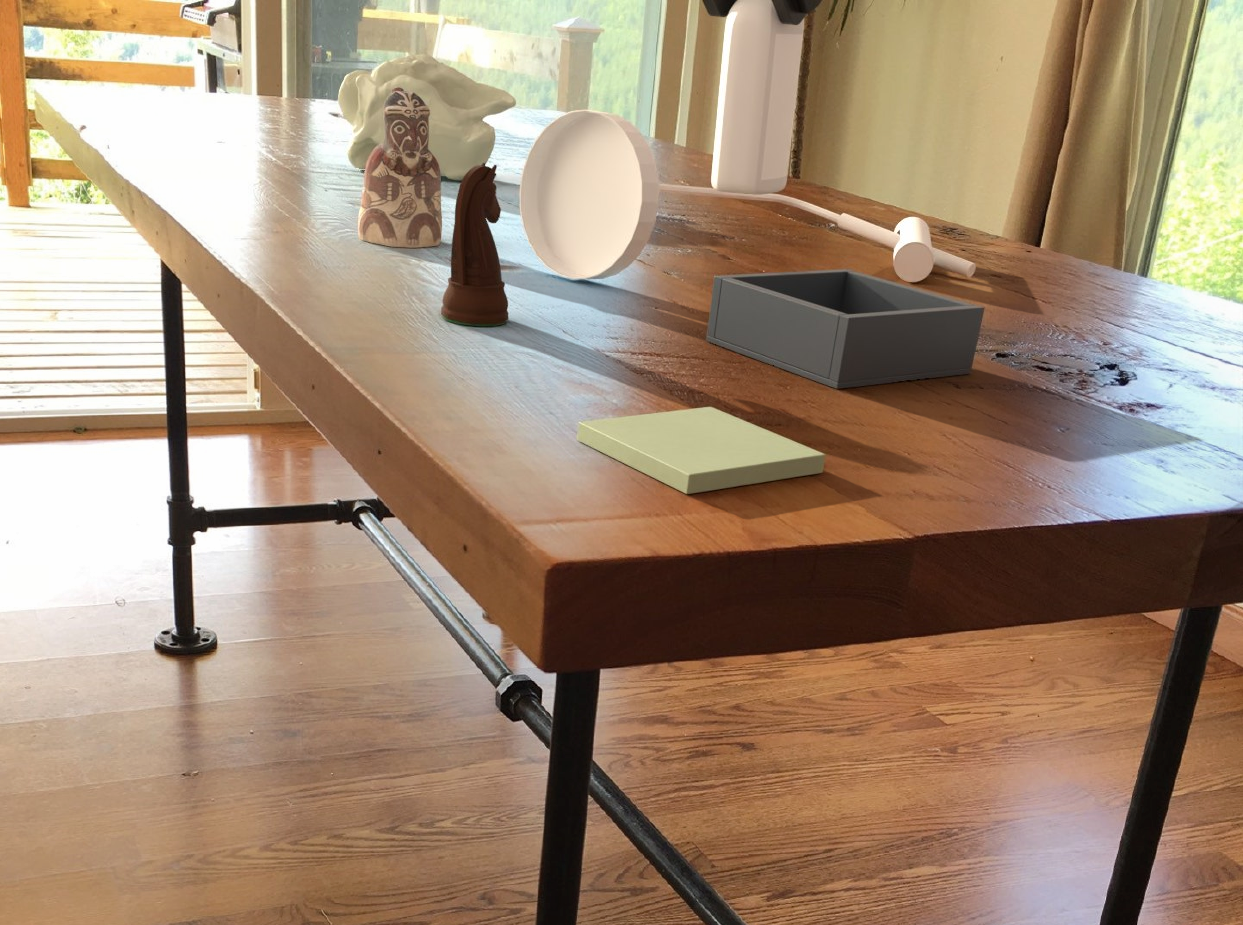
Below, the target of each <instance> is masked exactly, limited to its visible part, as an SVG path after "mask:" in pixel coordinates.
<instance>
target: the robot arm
mask: <svg viewBox="0 0 1243 925" xmlns="http://www.w3.org/2000/svg"><path fill="white" fill-rule="evenodd" d="M736 1H737V0H702V3H703V5H704V7H705V10H706V12H707V14H708V15H709V16H711V17H718V18H727V16H728V14H729V11H730V9H731V8H732V6H733V5H734V3H735V2H736ZM822 2H823V0H772V3H773V5H774V8H775V10H776V13H777V15H778V18H779V20H780V22H781V23H782V24H790V25H798V24H800V23H801V21H802V20H803V19H805V17H806V16H807V15H808V14H810V13H811V12H813V11H814V10H815V9H816V8H817V7H819V6H820V4H821V3H822Z"/></svg>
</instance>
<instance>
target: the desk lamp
mask: <svg viewBox="0 0 1243 925" xmlns="http://www.w3.org/2000/svg"><path fill="white" fill-rule="evenodd" d="M652 152H653V151H652V150H651V147H650V146H649V144H648V142H647V140H646V139H645V137H644V135H643V134H642V133H641V131H639V129H638V128H637V127H635V125H634V124H633V123H632V122H630V121H629V120H627V119H625V118H624V117H622V116H620V115H618V114H615V113H610V112H606V111H601V110H593V109H577V110H570V111H568V112H566V113H564V114H561V115H558V116H557V117H556V118H555V119H553V120H552V121H551V122H550V123H548V124H547V125H546V126H545V127H544V128H543V129H542V131H541V132H540V133H539V134H538V136H537V137H536V138H535V140H534V142H533V144H532V146H531V148H529V151H528V153H527V156H526V158H525V162H524V164H523V168H522V172H521V178H520V184H519V213H520V218H521V222H522V228H523V231H524V234H525V236H526V239H527V242H528V244H529V246H530V248H531V249H532V251H533V253H534V254H535V257H537V258H538V259H539V260H540V262H541V263H542V264H543V265H544V266H545V267H546V268H547V269H549V270H550V271H552V272H554V273H555V274H557V276H561V277H564V278H568V279H571V280H603V279H607V278H610V277H613V276H617V275H618V274H619V273H621V272H622V271H625V269H627V268H629V267H630V265H632V264H633V263H634V261H636V259H637V258H638V257H639V256H640V255H641V253H642V252H643V250H644V248H645V247H646V245H647V244H648V242H649V240H650V237H651V236H652V232H653V230H654V227H655V224H656V222H657V221H656V220H657V215H658V210H659V204H660V194H673V195H684V196H685V195H686V196H698V197H707V198H708V197H709V198H721V199H722V198H723V199H735V200H746V201H747V200H748V201H758V202H759V201H760V202H771V203H777V204H782V205H786V206H790V207H792V208H793V207H794V208H797V209H800V210H803V211H805V212H808V213H810V214H814V215H816V216H818V217H821V218H823V219H826V220H829V221H831V222H834V223H837V224H836V225H837V227H838V228H840V229H842V230H844V231H847V232H850V233H852V234H855V235H858V236H859V237H862V238H864V239H865V238H866V239H867V240H870V241H873V242H875V243H878V244H881V245H882V246H885V247H888V248H891V249H893V269H894V272H895V274H896V275H897V276H898V277H899V278H900V279H901V280H902V281H905V282H908V283H917V282H920V281H922V280H924V279H926V278H927V277H928V276H929V275H930V273H931V272H932V270H933V268H934V266H936V267H939V268H941V269H944V270H947V271H948V272H949V271H950V272H951V273H955V274H957V275H958V276H962V277H964V278H966V279H971V278H972V277H973V275H974V273H975V272H976V269H977V268H976V267H977V264H976V263H975V262H972V261H970V260H967V259H964V258H962V257H960V256H956V255H954V254H952V253H949V252H946V251H944V250H941V249H939V248H936V247H933V245H932V237H931V232H930V227H929V225H928V223H927V222H926V221H925V220H924V219H922V218H920V217H917V216H909V217H905V218H903V219H902V220H901V221H900V222H899V223H898V224H897V225H896V226H895V228H894V231H892V230H889V229H887V228H885V227H882V226H879V225H877V224H874V223H871V222H868V221H866V220H864V219H861V218H858V217H855V216H853V215H851V214H847V213H845V212H843V213H841V214H838V213H836V212H833V211H830V210H828V209H826V208H822V207H820V206H818V205H815V204H813V203H810V202H807V201H804V200H801V199H798V198H795V197H791V196H787V195H784V194H778V193H770V194H760V195H754V194H742V193H731V192H722V191H717V190H715V189H714V188H713V187H702V186H691V185H681V184H670V183H669V184H668V183H660V179H659V174H658V168H657V163H656V160H655V158H654V154H653V153H652Z"/></svg>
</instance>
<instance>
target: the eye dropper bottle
mask: <svg viewBox="0 0 1243 925" xmlns="http://www.w3.org/2000/svg"><path fill="white" fill-rule="evenodd" d="M804 19H805V18H804ZM804 19H803V20H802V21H801V23H800V24H798V25H790V24H782V23H781V22H780V20H779V18H778V15H777V13H776V10H775V8H774V5H773V3H772V0H737V1H736V2H735V3H734V5H733V6H732V8H731V9H730V11H729V14H728V15H727V16H726V20H725V27H724V36H723V46H722V56H721V68H720V78H719V90H718V98H717V100H718V101H717V112H716V122H715V133H714V142H713V143H714V144H713V156H712V166H711V167H712V168H711V178H710V180H711V186H712V187H711V188H714V189H715V190H717V191H722V192H731V193H742V194H754V195H760V194H770V193H772V194H776V193H778V192H781V191H783V190H784V189H785V188H786V186H787V183H788V174H789V165H790V157H791V150H792V140H793V132H794V122H795V114H796V113H795V111H796V103H797V96H798V95H797V94H798V87H799V85H798V84H799V78H800V77H799V76H800V68H801V67H800V66H801V58H802V49H803V41H804V40H803V39H804V29H805V20H804Z"/></svg>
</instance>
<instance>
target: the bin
mask: <svg viewBox="0 0 1243 925" xmlns="http://www.w3.org/2000/svg"><path fill="white" fill-rule="evenodd" d="M711 291H712V292H711V299H710V307H709V316H708V324H707V331H706V338H705V342H707V341H709V342H708V343H710V342H711V343H710V344H712V343H713V344H712V345H715V344H716V345H715V346H718V347H721V348H723V347H724V349H726V350H729V351H731V352H735V353H738V354H740V355H743V356H745V357H748V358H751V359H753V360H756V361H759V362H762V363H765V364H767V365H770V366H773V365H774V366H773V367H776V368H777V369H782V370H784V371H786V372H789V373H791V374H794V375H797V376H800V377H803V378H806V379H808V380H811V381H813V382H816V383H819V384H822V385H825V386H827V387H830V388H832V389H835V390H840V389H849V388H859V387H866V386H876V384H877V385H884V384H885V385H886V384H893V383H892V382H894V383H899V382H898V381H903V382H906V381H905V380H911V381H918V380H917V379H920V380H926V379H925V378H929V379H937V378H947V377H954V376H963V375H971V373H972V368H973V365H974V360H975V355H976V352H977V347H978V341H979V337H980V331H981V327H982V323H983V318H984V314H985V308H986V307H985V306H981V305H978V304H975V303H971V302H967V301H963V300H959V299H956V298H953V297H949V296H945V295H942V294H938V293H934V292H931V291H927V290H923V289H921V288H916V287H913V286H910V285H906V284H903V283H898V282H895V281H891V280H888V279H884V278H881V277H877V276H874V275H870V274H866V273H863V272H859V271H857V270H852V269H848V268H841V269H840V268H839V269H819V270H818V269H817V270H800V271H799V270H798V271H782V272H780V271H779V272H763V273H762V272H761V273H742V274H723V275H720V274H719V275H714V277H713V284H712V290H711ZM895 381H896V382H895Z"/></svg>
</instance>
